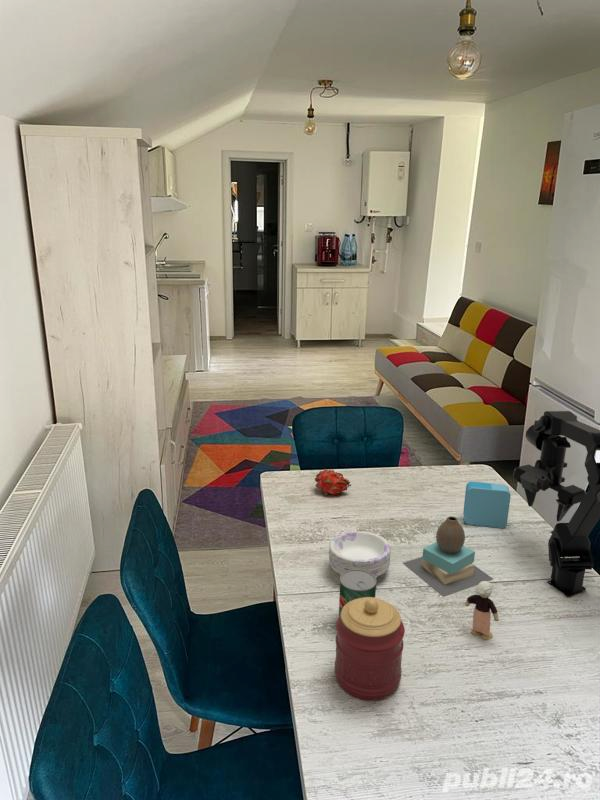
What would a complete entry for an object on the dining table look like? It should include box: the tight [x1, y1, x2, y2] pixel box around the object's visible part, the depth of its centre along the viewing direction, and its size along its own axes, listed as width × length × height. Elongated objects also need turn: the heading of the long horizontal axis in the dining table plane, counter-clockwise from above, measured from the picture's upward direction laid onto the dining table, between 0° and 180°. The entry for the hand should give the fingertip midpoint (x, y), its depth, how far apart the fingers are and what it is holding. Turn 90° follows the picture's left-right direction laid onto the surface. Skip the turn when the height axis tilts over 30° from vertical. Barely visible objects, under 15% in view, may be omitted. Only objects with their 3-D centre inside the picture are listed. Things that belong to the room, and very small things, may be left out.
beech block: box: [421, 555, 475, 585], centre depth 153 cm, size 9×9×3 cm
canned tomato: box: [338, 569, 377, 616], centre depth 133 cm, size 8×8×11 cm
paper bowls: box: [328, 530, 392, 579], centre depth 152 cm, size 15×15×8 cm
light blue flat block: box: [462, 481, 511, 529], centre depth 176 cm, size 12×4×12 cm, turn 79°
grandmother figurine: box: [464, 581, 500, 641], centre depth 130 cm, size 8×4×13 cm, turn 59°
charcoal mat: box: [402, 556, 494, 598], centre depth 153 cm, size 16×16×1 cm
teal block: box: [422, 541, 476, 575], centre depth 152 cm, size 9×9×3 cm
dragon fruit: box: [314, 468, 352, 497], centre depth 195 cm, size 8×8×12 cm
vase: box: [435, 515, 466, 554], centre depth 150 cm, size 7×7×9 cm
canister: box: [334, 597, 406, 701], centre depth 116 cm, size 13×13×18 cm
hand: (544, 513), depth 159 cm, fingers open, 9 cm apart
